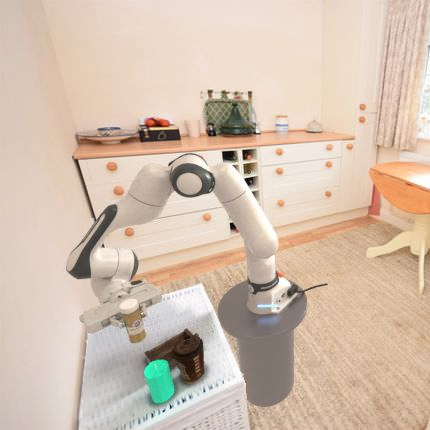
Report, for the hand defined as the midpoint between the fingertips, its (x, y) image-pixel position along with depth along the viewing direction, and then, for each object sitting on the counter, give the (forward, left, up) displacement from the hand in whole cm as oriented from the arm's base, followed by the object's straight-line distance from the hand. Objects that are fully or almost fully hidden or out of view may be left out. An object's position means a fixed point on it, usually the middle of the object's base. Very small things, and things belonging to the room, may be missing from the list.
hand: (134, 320), depth 85 cm
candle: (0, +13, -19) cm, 23 cm away
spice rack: (-8, +2, -19) cm, 21 cm away
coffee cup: (-9, +13, -19) cm, 25 cm away
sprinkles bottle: (0, -1, -8) cm, 8 cm away
